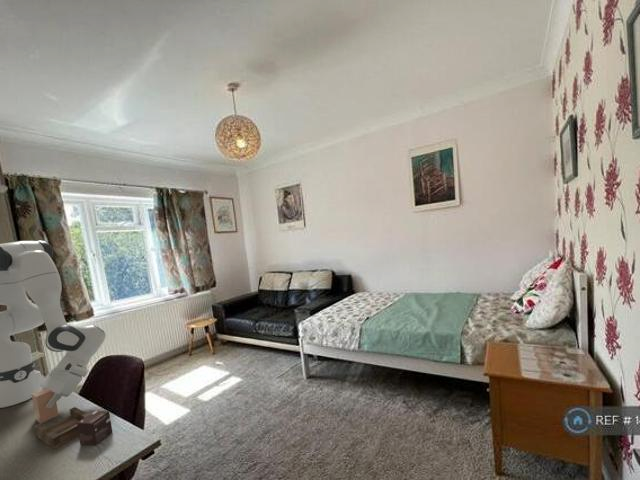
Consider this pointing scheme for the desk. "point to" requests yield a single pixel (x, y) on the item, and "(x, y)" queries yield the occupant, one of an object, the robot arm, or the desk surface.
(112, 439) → the desk surface
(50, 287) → the robot arm
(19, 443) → the desk surface
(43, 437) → the cradle
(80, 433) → the box
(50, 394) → the block
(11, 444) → the desk surface
